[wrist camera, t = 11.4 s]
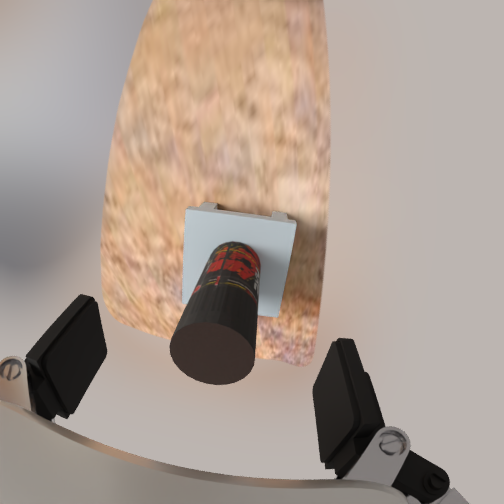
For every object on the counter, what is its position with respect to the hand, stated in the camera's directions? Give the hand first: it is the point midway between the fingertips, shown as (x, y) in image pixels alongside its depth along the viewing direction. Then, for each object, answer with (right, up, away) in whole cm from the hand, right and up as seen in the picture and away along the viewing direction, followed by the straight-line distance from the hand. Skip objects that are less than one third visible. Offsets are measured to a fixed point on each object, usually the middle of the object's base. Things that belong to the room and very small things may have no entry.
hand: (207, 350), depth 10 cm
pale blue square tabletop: (0, +5, +29) cm, 29 cm away
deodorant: (0, +2, +22) cm, 22 cm away
